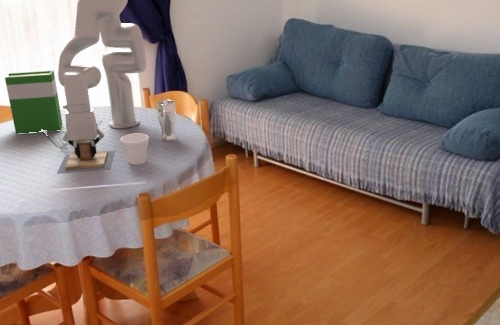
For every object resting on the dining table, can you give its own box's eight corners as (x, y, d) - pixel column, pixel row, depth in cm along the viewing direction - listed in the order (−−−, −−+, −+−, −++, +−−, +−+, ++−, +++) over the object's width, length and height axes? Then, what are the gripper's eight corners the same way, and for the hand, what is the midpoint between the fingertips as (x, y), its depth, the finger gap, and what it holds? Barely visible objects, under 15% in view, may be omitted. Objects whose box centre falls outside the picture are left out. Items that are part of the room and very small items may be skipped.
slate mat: (65, 155, 214) (65, 154, 214) (115, 151, 216) (115, 150, 215) (56, 174, 197) (56, 173, 197) (110, 170, 199) (110, 169, 199)
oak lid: (71, 156, 212) (68, 138, 209) (107, 153, 213) (105, 135, 210) (65, 169, 200) (62, 151, 197) (103, 166, 201) (101, 148, 198)
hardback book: (16, 134, 238) (4, 77, 229) (19, 129, 245) (8, 73, 236) (60, 131, 240) (50, 74, 231) (62, 125, 247) (53, 70, 238)
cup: (127, 169, 199) (124, 144, 196) (119, 160, 208) (116, 136, 204) (155, 163, 204) (152, 139, 200) (146, 154, 212) (143, 131, 208)
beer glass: (179, 136, 230) (176, 99, 224) (175, 142, 223) (172, 104, 218) (162, 136, 230) (159, 99, 225) (158, 142, 224) (154, 104, 218)
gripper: (51, 112, 194) (60, 162, 201) (102, 108, 196) (109, 158, 203) (55, 105, 201) (64, 154, 208) (105, 102, 203) (111, 150, 210)
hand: (86, 155), depth 206 cm, fingers closed on oak lid, 4 cm apart
